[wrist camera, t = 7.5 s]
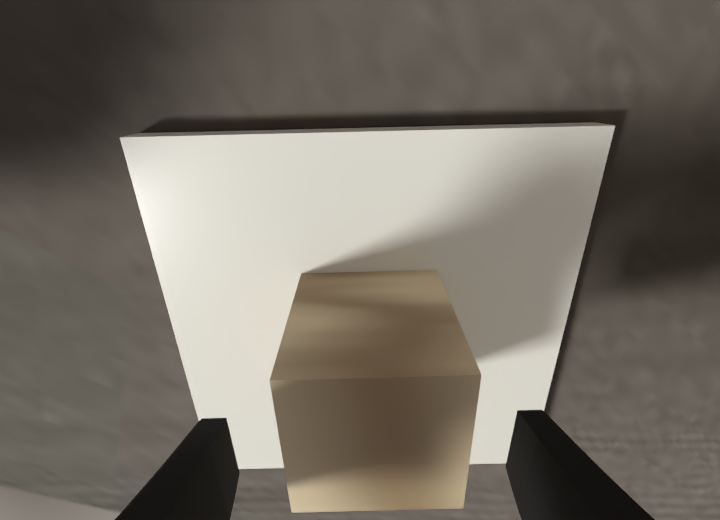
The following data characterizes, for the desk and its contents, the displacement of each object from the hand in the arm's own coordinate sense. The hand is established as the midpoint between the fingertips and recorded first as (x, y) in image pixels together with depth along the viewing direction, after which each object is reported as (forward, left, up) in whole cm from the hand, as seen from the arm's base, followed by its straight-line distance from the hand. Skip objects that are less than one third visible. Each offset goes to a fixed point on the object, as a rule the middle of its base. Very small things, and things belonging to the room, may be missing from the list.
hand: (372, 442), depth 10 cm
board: (0, 0, -6) cm, 6 cm away
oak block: (0, 0, -5) cm, 5 cm away
